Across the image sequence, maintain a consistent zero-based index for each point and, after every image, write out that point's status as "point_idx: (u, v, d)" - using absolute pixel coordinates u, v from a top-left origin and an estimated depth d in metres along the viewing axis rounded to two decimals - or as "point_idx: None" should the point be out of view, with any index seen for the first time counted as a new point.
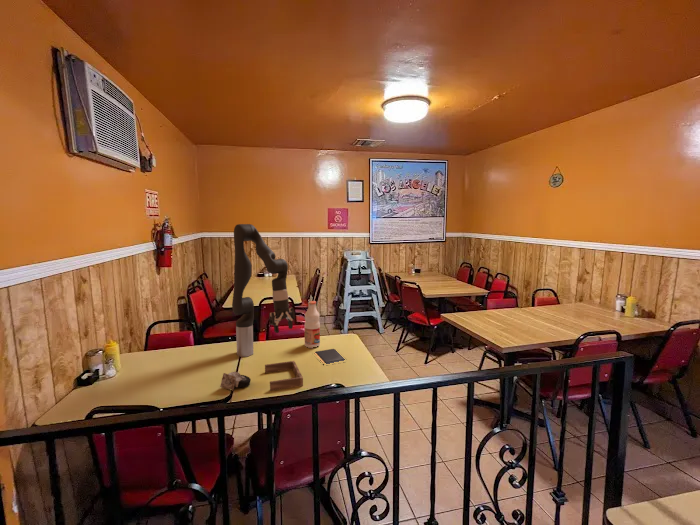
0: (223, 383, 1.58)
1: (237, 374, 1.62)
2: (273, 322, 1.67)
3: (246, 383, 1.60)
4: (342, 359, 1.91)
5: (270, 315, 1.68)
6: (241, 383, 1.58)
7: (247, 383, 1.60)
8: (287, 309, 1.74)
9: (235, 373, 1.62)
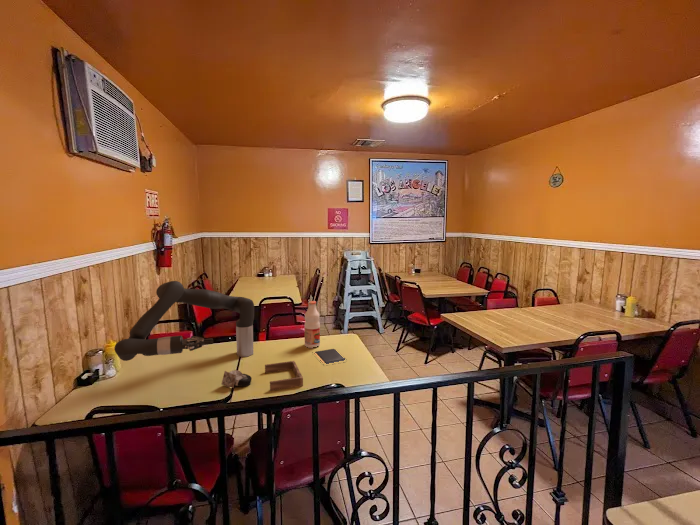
0: (224, 381, 1.60)
1: (238, 373, 1.64)
2: None
3: (246, 382, 1.60)
4: (342, 359, 1.91)
5: None
6: (241, 382, 1.59)
7: (247, 382, 1.61)
8: None
9: (236, 372, 1.63)
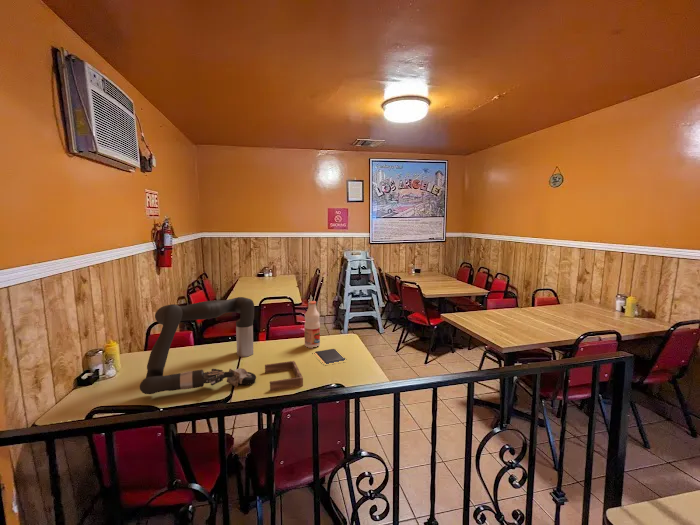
0: (229, 378, 1.62)
1: (243, 371, 1.65)
2: None
3: (250, 381, 1.62)
4: (342, 359, 1.91)
5: None
6: (245, 380, 1.61)
7: (251, 381, 1.62)
8: None
9: (241, 370, 1.65)
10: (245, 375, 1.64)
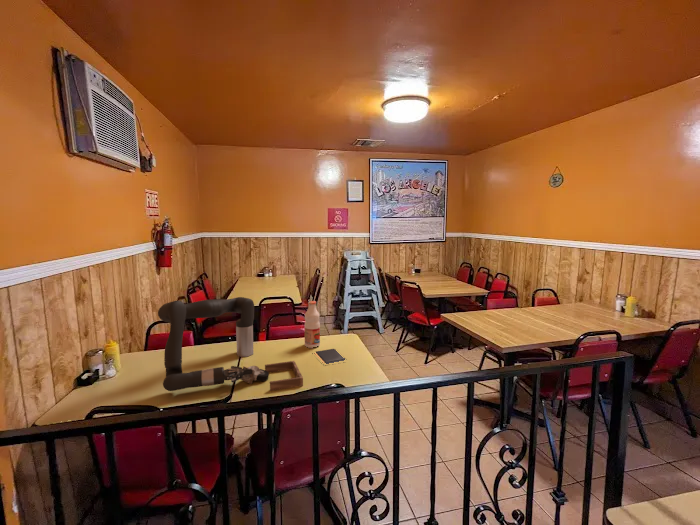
0: (243, 376, 1.65)
1: (256, 368, 1.69)
2: None
3: (264, 377, 1.65)
4: (342, 359, 1.91)
5: None
6: (259, 377, 1.64)
7: (265, 377, 1.66)
8: None
9: (254, 367, 1.68)
10: (258, 372, 1.67)
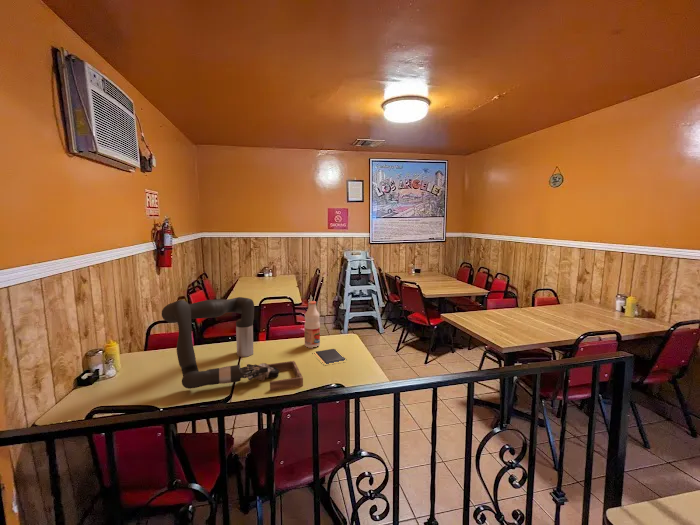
0: None
1: (266, 365, 1.72)
2: None
3: (276, 374, 1.69)
4: (342, 359, 1.91)
5: None
6: (271, 373, 1.68)
7: (276, 374, 1.70)
8: None
9: (265, 364, 1.71)
10: (269, 369, 1.71)
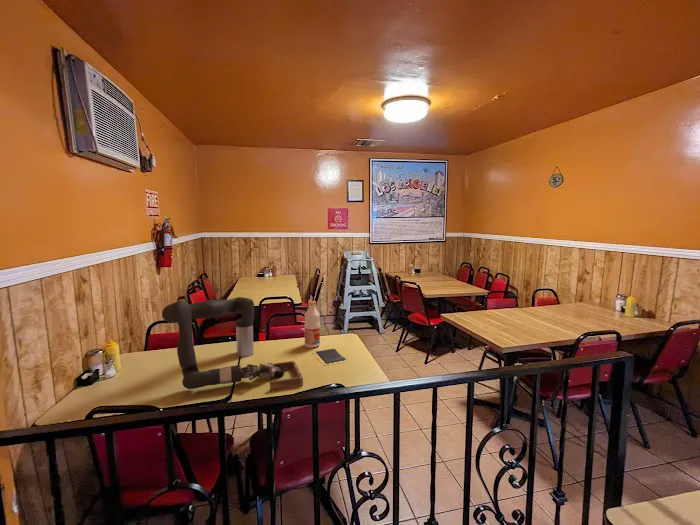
0: (260, 373, 1.68)
1: (272, 365, 1.73)
2: None
3: (281, 373, 1.70)
4: (342, 359, 1.91)
5: None
6: (276, 373, 1.69)
7: (282, 373, 1.71)
8: None
9: (270, 364, 1.72)
10: (274, 368, 1.72)
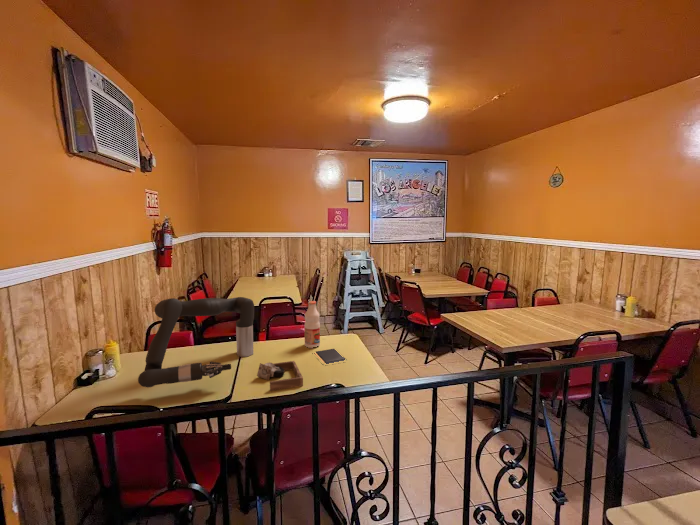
0: (259, 373, 1.69)
1: (272, 365, 1.73)
2: None
3: (281, 373, 1.70)
4: (342, 359, 1.91)
5: None
6: (276, 373, 1.69)
7: (281, 373, 1.71)
8: None
9: (270, 364, 1.72)
10: (274, 368, 1.72)
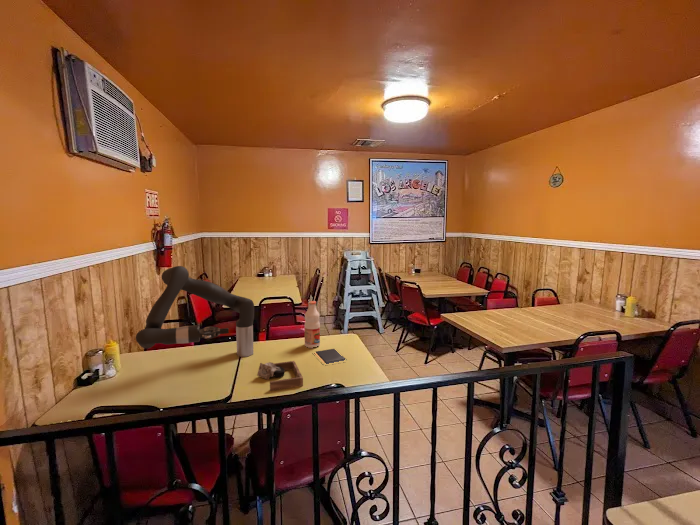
0: (260, 372, 1.69)
1: (272, 365, 1.73)
2: None
3: (281, 373, 1.70)
4: (342, 359, 1.91)
5: None
6: (276, 373, 1.69)
7: (281, 373, 1.70)
8: None
9: (271, 363, 1.73)
10: (275, 368, 1.72)
